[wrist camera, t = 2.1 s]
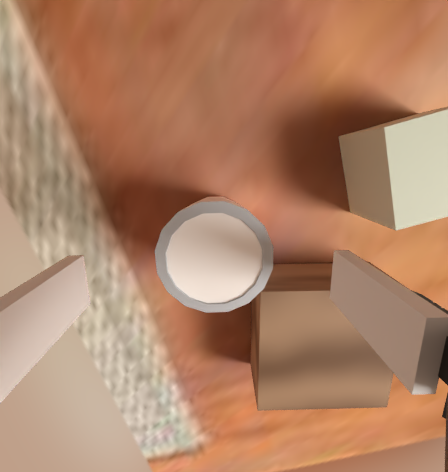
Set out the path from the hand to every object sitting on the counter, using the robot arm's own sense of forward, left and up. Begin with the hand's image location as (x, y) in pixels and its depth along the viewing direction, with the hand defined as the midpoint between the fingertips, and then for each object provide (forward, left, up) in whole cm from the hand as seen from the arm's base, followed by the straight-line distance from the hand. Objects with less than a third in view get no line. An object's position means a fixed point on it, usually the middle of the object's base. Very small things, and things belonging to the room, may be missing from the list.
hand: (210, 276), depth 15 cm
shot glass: (0, 0, -9) cm, 9 cm away
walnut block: (+8, +8, -8) cm, 14 cm away
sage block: (-5, +13, -8) cm, 17 cm away
